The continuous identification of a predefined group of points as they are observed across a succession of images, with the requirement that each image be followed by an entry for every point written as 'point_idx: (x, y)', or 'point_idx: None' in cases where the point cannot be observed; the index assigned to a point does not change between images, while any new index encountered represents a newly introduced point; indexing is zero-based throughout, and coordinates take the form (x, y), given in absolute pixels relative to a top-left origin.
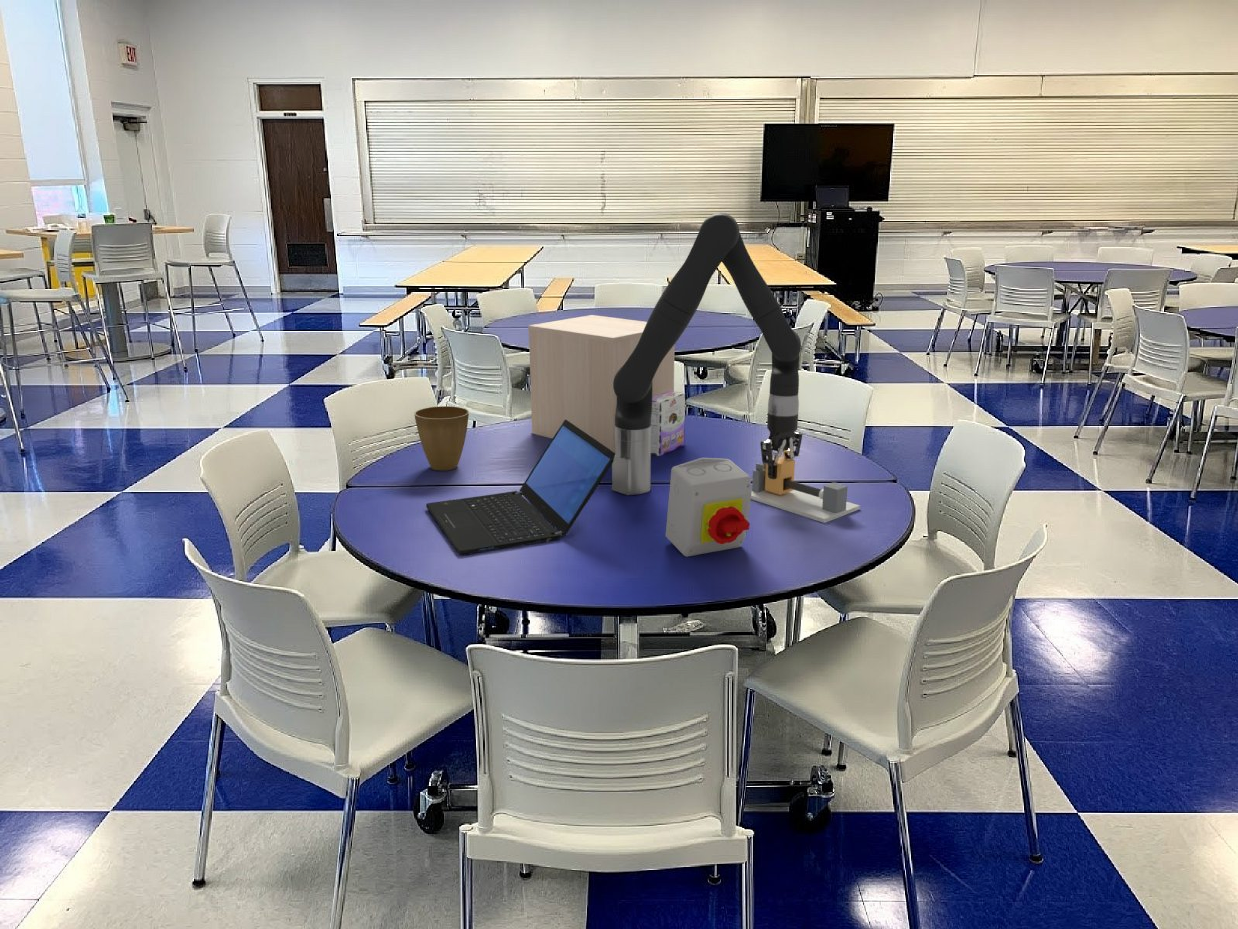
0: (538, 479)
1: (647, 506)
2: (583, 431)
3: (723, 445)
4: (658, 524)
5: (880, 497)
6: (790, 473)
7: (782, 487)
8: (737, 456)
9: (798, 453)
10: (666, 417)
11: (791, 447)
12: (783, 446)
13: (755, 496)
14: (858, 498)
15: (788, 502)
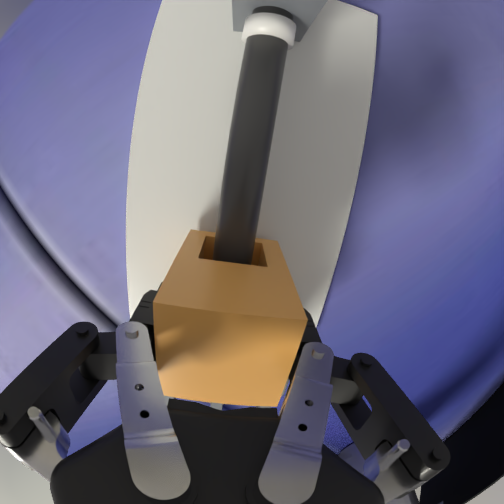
0: None
1: (433, 395)
2: (472, 498)
3: (76, 447)
4: (496, 331)
5: (42, 28)
6: (207, 267)
7: (267, 250)
8: (85, 430)
9: (71, 331)
10: None
11: (148, 400)
12: (282, 441)
13: (321, 304)
14: (74, 50)
15: (313, 179)
